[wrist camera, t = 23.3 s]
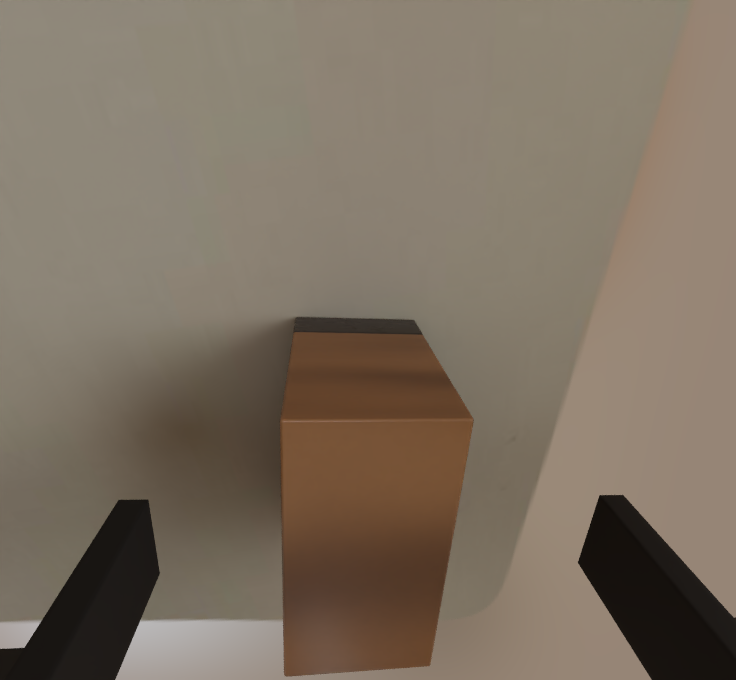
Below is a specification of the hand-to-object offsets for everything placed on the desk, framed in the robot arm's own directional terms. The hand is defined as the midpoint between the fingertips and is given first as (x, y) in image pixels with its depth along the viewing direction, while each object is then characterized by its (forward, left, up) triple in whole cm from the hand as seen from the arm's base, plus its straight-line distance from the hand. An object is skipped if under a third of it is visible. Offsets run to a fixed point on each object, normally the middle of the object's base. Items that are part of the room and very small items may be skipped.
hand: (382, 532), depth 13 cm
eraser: (+1, 0, -6) cm, 6 cm away
